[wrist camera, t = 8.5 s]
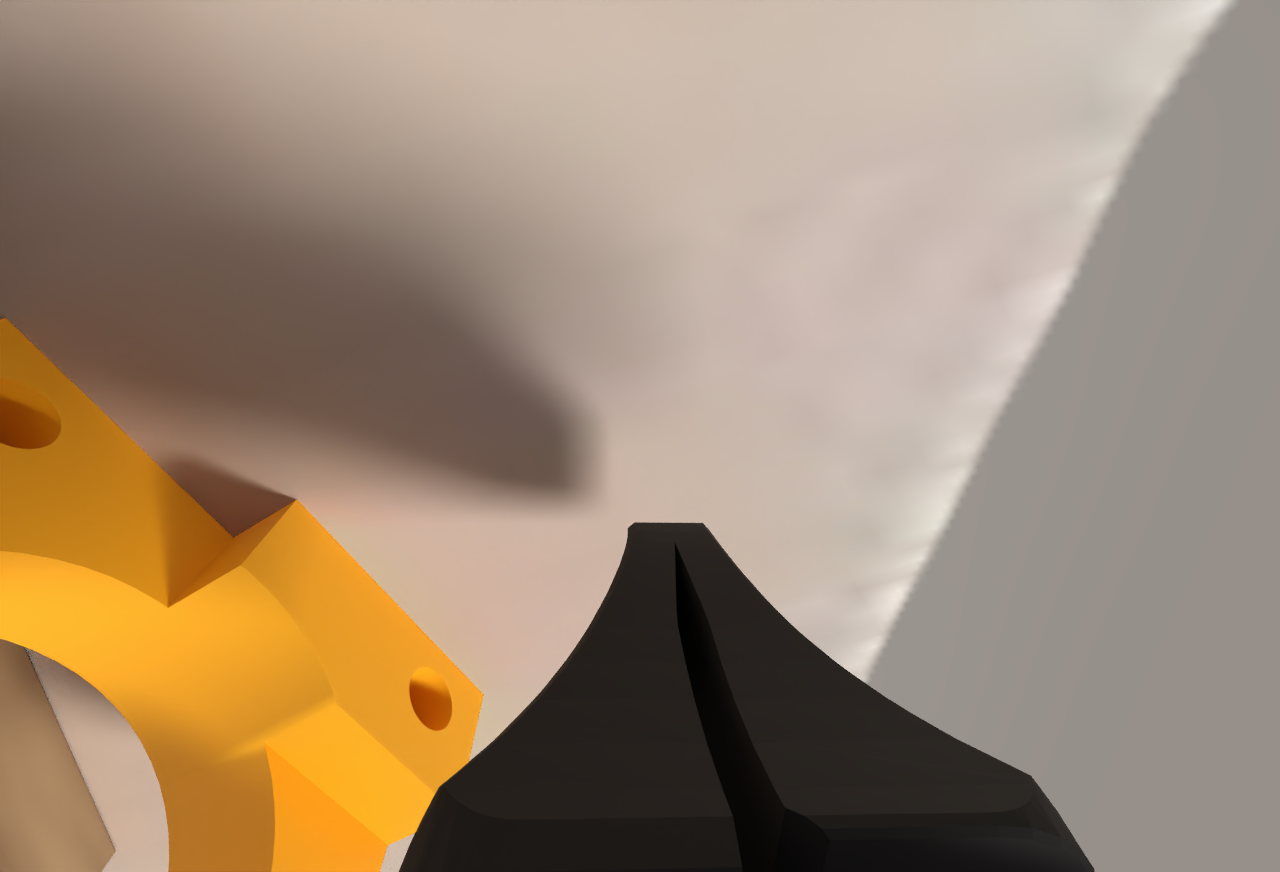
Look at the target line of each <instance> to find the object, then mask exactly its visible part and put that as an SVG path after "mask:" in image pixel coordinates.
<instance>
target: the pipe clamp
mask: <svg viewBox="0 0 1280 872" xmlns="http://www.w3.org/2000/svg"><path fill="white" fill-rule="evenodd" d="M0 639H3V640H7V641H10V642H13V643H15V644H18V645H21V646H23V647H26V648H29V649H32V650H34V651H36V652H38V653H40V654H42V655H45V656H47V657H49V658H51V659H53V660H55V661H57V662H59V663H60V664H62V665H64V666H65V667H67V668H68V669H70V670H72V671H73V672H75V673H77V674H78V675H80V676H81V677H82V678H84V679H85V680H86V681H87V682H89V683H90V684H91V685H93V686H94V687H95V688H97V689H98V690H99V691H100V692H101V693H102V694H103V695H104V696H105V697H106V698H107V699H108V700H109V701H110V702H111V703H112V704H113V705H114V706H115V707H116V708H117V709H118V710H119V712H120V713H121V714H122V715H123V716H124V718H125V719H126V720H127V721H128V722H129V724H130V725H131V727H132V728H133V730H134V731H135V733H136V735H137V736H138V738H139V739H140V741H141V742H142V744H143V746H144V748H145V750H146V752H147V754H148V756H149V758H150V760H151V762H152V765H153V768H154V770H155V773H156V776H157V779H158V781H159V784H160V788H161V792H162V796H163V800H164V804H165V810H166V817H167V824H168V833H169V871H168V872H380V869H381V866H382V863H383V860H384V856H385V853H386V850H387V847H388V845H389V844H392V843H394V842H396V841H398V840H400V839H402V838H405V837H407V836H409V835H411V834H413V833H415V832H416V831H417V828H418V826H419V824H420V822H421V820H422V818H423V816H424V814H425V812H426V810H427V808H428V807H429V805H430V803H431V801H432V799H433V797H434V795H435V793H436V792H437V790H438V788H439V786H441V785H442V784H443V783H444V782H446V781H447V780H448V779H449V778H450V777H452V776H453V775H454V774H455V773H456V772H458V771H459V770H460V769H461V768H462V767H463V766H465V765H466V764H467V763H468V762H469V757H470V753H471V749H472V744H473V740H474V735H475V731H476V726H477V722H478V718H479V713H480V709H481V704H482V700H483V696H484V695H483V694H482V693H481V691H480V690H479V689H478V688H477V687H476V686H475V685H474V684H473V683H472V682H471V681H470V680H469V679H468V678H467V677H466V676H465V675H464V674H463V673H462V672H461V671H460V670H459V668H458V667H457V666H456V665H455V664H454V663H453V662H452V661H451V660H450V659H449V658H448V657H447V656H446V655H445V654H444V653H443V652H442V651H441V650H440V649H439V648H438V647H437V645H436V644H435V643H434V642H433V641H432V640H431V639H430V638H429V637H428V636H427V635H426V634H425V633H424V632H423V631H422V630H421V629H420V628H419V627H418V626H417V625H416V623H415V622H414V621H413V620H412V619H411V618H410V617H409V616H408V615H407V614H406V613H405V612H404V611H403V610H402V609H401V608H400V607H399V606H398V605H397V604H396V603H395V602H394V600H393V599H392V598H391V597H390V596H389V595H388V594H387V593H386V592H385V591H384V590H383V589H382V588H381V587H380V586H379V585H378V584H377V583H376V582H375V581H374V580H373V579H372V577H371V576H370V575H369V574H368V573H367V572H366V571H365V570H364V569H363V568H362V567H361V566H360V565H359V564H358V563H357V562H356V561H355V560H354V559H353V558H352V557H351V556H350V554H349V553H348V552H347V551H346V550H345V549H344V548H343V547H342V546H341V545H340V544H339V543H338V542H337V541H336V540H335V539H334V538H333V537H332V536H331V535H330V534H329V533H328V531H327V530H326V529H325V528H324V527H323V526H322V525H321V524H320V523H319V522H318V521H317V520H316V519H315V518H314V517H313V516H312V515H311V514H310V513H309V512H308V511H307V509H306V508H305V507H304V506H303V505H302V504H301V503H300V502H299V501H298V500H295V501H294V502H292V503H290V504H289V505H287V506H285V507H284V508H282V509H280V510H279V511H277V512H275V513H274V514H272V515H270V516H269V517H267V518H265V519H264V520H262V521H260V522H259V523H257V524H255V525H254V526H252V527H250V528H249V529H247V530H245V531H244V532H242V533H240V534H239V535H237V536H235V537H234V538H233V537H232V536H231V535H230V534H229V533H228V532H227V531H226V530H225V529H224V528H223V527H222V526H221V525H220V524H219V523H218V522H217V521H216V520H215V519H214V518H213V517H212V516H210V515H209V514H208V513H207V512H206V511H205V510H204V509H203V508H202V507H201V506H200V505H199V504H198V503H197V502H196V501H195V500H194V499H193V498H192V497H191V496H190V495H189V494H188V493H187V492H186V491H185V490H184V489H183V488H181V487H180V486H179V485H178V484H177V483H176V482H175V481H174V480H173V479H172V478H171V477H170V476H169V475H168V474H167V473H166V472H165V471H164V470H163V469H162V468H161V467H160V466H159V465H158V464H157V463H156V462H155V461H154V460H152V459H151V458H150V457H149V456H148V455H147V454H146V453H145V452H144V451H143V450H142V449H141V448H140V447H139V446H138V445H137V444H136V443H135V442H134V441H133V440H132V439H131V438H130V437H129V436H128V435H127V434H126V433H124V432H123V431H122V430H121V429H120V428H119V427H118V426H117V425H116V424H115V423H114V422H113V421H112V420H111V419H110V418H109V417H108V416H107V415H106V414H105V413H104V412H103V411H102V410H101V409H100V408H99V407H98V406H97V405H95V404H94V403H93V402H92V401H91V400H90V399H89V398H88V397H87V396H86V395H85V394H84V393H83V392H82V391H81V390H80V389H79V388H78V387H77V386H76V385H75V384H74V383H73V382H72V381H71V380H70V379H69V378H68V377H66V376H65V375H64V374H63V373H62V372H61V371H60V370H59V369H58V368H57V367H56V366H55V365H54V364H53V363H52V362H51V361H50V360H49V359H48V358H47V357H46V356H45V355H44V354H43V353H42V352H41V351H40V350H39V349H37V348H36V347H35V346H34V345H33V344H32V343H31V342H30V341H29V340H28V339H27V338H26V337H25V336H24V335H23V334H22V333H21V332H20V331H19V330H18V329H17V328H16V327H15V326H14V325H13V324H12V323H11V322H10V321H8V320H7V319H6V318H3V319H0Z"/></svg>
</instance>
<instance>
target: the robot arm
mask: <svg viewBox="0 0 1280 872" xmlns="http://www.w3.org/2000/svg"><path fill="white" fill-rule="evenodd" d="M399 872H1094V868H1093V867H1092V865H1091V863H1090V862H1089V860H1088V859H1087V857H1086V856H1085V854H1084V853H1083V851H1082V850H1081V848H1080V847H1079V845H1078V843H1077V842H1076V841H1075V839H1074V837H1073V835H1072V834H1071V832H1070V830H1069V829H1068V827H1067V826H1066V824H1065V823H1064V821H1063V819H1062V818H1061V816H1060V815H1059V813H1058V812H1057V810H1056V809H1055V807H1054V806H1053V805H1052V803H1051V802H1050V801H1049V799H1048V798H1047V797H1046V795H1045V794H1044V793H1043V791H1042V790H1041V788H1040V787H1039V786H1038V784H1037V783H1036V782H1035V781H1034V779H1033V778H1032V776H1030V775H1028V774H1026V773H1024V772H1022V771H1020V770H1018V769H1016V768H1014V767H1012V766H1010V765H1008V764H1006V763H1004V762H1002V761H1000V760H998V759H996V758H993V757H992V756H990V755H988V754H986V753H984V752H982V751H980V750H977V749H976V748H974V747H971V746H970V745H967V744H965V743H963V742H961V741H959V740H957V739H955V738H954V737H952V736H950V735H948V734H946V733H945V732H943V731H941V730H939V729H938V728H936V727H934V726H933V725H931V724H929V723H927V722H926V721H924V720H922V719H920V718H919V717H917V716H915V715H913V714H912V713H910V712H908V711H907V710H905V709H904V708H902V707H900V706H899V705H897V704H896V703H894V702H892V701H891V700H889V699H887V698H886V697H884V696H883V695H882V694H880V693H879V692H877V691H876V690H874V689H873V688H871V687H870V686H868V685H867V684H866V683H864V682H863V681H861V680H860V679H858V678H857V677H855V676H854V675H853V674H851V673H850V672H848V671H847V670H846V669H844V668H843V667H842V666H840V665H839V664H838V663H836V662H835V661H834V660H832V659H831V658H830V657H829V656H828V655H826V654H825V653H824V652H823V651H822V650H820V649H819V648H818V647H817V646H815V645H814V644H813V643H812V642H811V641H809V640H808V639H807V638H806V637H805V636H803V635H802V634H801V633H800V632H799V631H798V630H797V629H796V628H794V627H793V626H792V625H791V624H790V623H789V622H788V621H787V620H786V619H785V618H784V617H783V616H782V615H781V614H780V613H779V612H778V611H777V610H776V609H775V608H774V607H773V606H772V605H771V604H770V603H769V602H768V601H767V600H766V599H765V598H764V596H763V595H762V594H761V593H760V592H759V591H758V590H757V589H756V587H755V586H754V585H753V584H752V583H751V582H750V581H749V580H748V578H747V577H746V576H745V575H744V574H743V573H742V572H741V570H740V569H739V568H738V567H737V566H736V564H735V563H734V562H733V561H732V559H731V558H730V557H729V556H728V554H727V553H726V552H725V551H724V549H723V548H722V547H721V545H720V544H719V543H718V541H717V540H716V539H715V537H714V536H713V535H712V533H711V532H710V531H709V529H708V528H707V527H706V526H705V525H704V524H703V523H633V524H632V525H631V526H630V527H629V528H628V538H627V543H626V547H625V551H624V554H623V557H622V560H621V563H620V565H619V568H618V570H617V572H616V575H615V577H614V579H613V582H612V584H611V586H610V589H609V591H608V593H607V595H606V597H605V598H604V600H603V602H602V604H601V606H600V608H599V609H598V611H597V613H596V615H595V617H594V619H593V620H592V622H591V624H590V625H589V627H588V629H587V630H586V632H585V634H584V635H583V637H582V638H581V640H580V641H579V643H578V644H577V646H576V647H575V648H574V650H573V651H572V653H571V654H570V656H569V657H568V658H567V660H566V661H565V662H564V664H563V665H562V666H561V667H560V669H559V670H558V671H557V673H556V674H555V675H554V676H553V678H552V679H551V680H550V681H549V683H548V684H547V685H546V686H545V687H544V689H543V690H542V691H541V692H540V693H539V694H538V696H537V697H536V698H535V699H534V700H533V701H532V702H531V703H530V704H529V705H528V706H527V707H526V708H525V709H524V710H523V711H522V713H521V714H520V715H519V716H518V717H517V718H516V719H515V720H514V721H513V722H512V723H511V724H510V725H509V726H508V727H507V728H506V729H505V730H504V731H503V732H502V733H501V734H500V735H499V736H498V737H497V738H496V739H495V740H494V741H493V742H491V743H490V744H489V745H488V746H487V747H486V748H485V749H484V750H482V751H481V752H480V753H479V754H478V755H476V756H475V757H474V758H473V759H472V760H471V761H469V762H468V763H467V764H466V765H465V766H463V767H462V768H461V769H460V770H459V771H458V772H456V773H455V774H454V775H453V776H452V777H450V778H449V779H448V780H447V781H446V782H444V783H443V784H442V785H441V786H439V788H438V790H437V792H436V793H435V795H434V797H433V799H432V801H431V803H430V805H429V807H428V808H427V810H426V812H425V814H424V816H423V818H422V820H421V822H420V824H419V826H418V828H417V831H416V833H415V835H414V837H413V839H412V841H411V843H410V846H409V848H408V850H407V853H406V855H405V858H404V860H403V863H402V865H401V867H400V870H399Z"/></svg>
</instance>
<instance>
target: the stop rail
mask: <svg viewBox="0 0 1280 872" xmlns="http://www.w3.org/2000/svg"><path fill="white" fill-rule="evenodd" d="M114 853H115V849H114V846H113V844H112V842H111V840H110V838H109V835H108V833H107V831H106V829H105V826H104V824H103V822H102V820H101V818H100V815H99V813H98V811H97V809H96V806H95V804H94V802H93V800H92V797H91V795H90V793H89V791H88V789H87V786H86V784H85V782H84V780H83V777H82V775H81V773H80V771H79V769H78V766H77V764H76V762H75V760H74V757H73V755H72V753H71V751H70V749H69V746H68V744H67V742H66V740H65V737H64V735H63V733H62V731H61V728H60V726H59V724H58V722H57V720H56V717H55V715H54V713H53V711H52V708H51V706H50V704H49V702H48V700H47V697H46V695H45V693H44V691H43V688H42V686H41V684H40V682H39V680H38V677H37V675H36V673H35V671H34V668H33V666H32V664H31V662H30V659H29V657H28V655H27V653H26V651H25V648H24V647H23V646H21V645H18V644H15V643H13V642H10V641H7V640H3V639H0V872H102V870H103V869H104V867H105V866H106V864H107V863H108V861H109V860H110V858H111V857H112V856H113V854H114Z"/></svg>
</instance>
